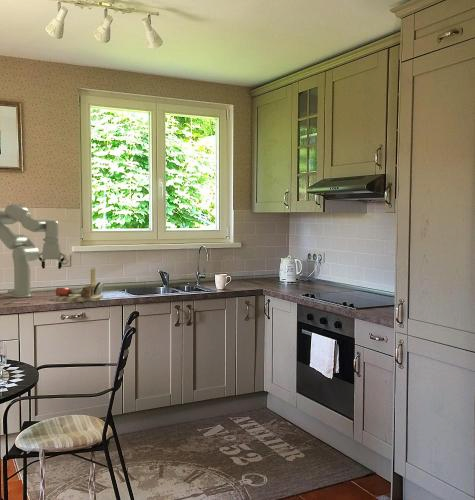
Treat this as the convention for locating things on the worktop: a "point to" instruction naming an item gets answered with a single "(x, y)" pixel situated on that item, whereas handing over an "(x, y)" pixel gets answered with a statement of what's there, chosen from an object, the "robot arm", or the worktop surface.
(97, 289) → the hinge
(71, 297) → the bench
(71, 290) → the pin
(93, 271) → the flap
